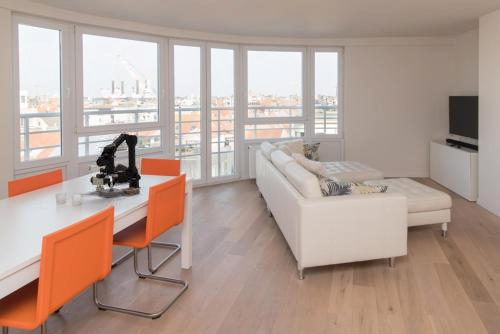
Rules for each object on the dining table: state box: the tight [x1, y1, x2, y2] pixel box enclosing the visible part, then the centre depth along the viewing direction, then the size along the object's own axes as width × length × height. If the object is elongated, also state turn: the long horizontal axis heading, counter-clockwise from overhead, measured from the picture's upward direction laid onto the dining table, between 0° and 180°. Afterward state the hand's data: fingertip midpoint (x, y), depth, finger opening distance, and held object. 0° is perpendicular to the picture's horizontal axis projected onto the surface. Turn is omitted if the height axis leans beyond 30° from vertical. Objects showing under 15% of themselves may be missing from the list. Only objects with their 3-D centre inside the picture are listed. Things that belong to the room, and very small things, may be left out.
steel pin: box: [109, 180, 114, 191], centre depth 297 cm, size 2×2×8 cm
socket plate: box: [97, 187, 126, 199], centre depth 298 cm, size 12×14×3 cm
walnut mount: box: [120, 187, 140, 196], centre depth 302 cm, size 9×10×3 cm
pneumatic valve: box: [89, 174, 108, 192], centre depth 310 cm, size 6×12×12 cm, turn 84°
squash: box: [115, 163, 129, 183], centre depth 344 cm, size 14×15×15 cm
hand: (111, 187), depth 297 cm, fingers closed on steel pin, 2 cm apart
